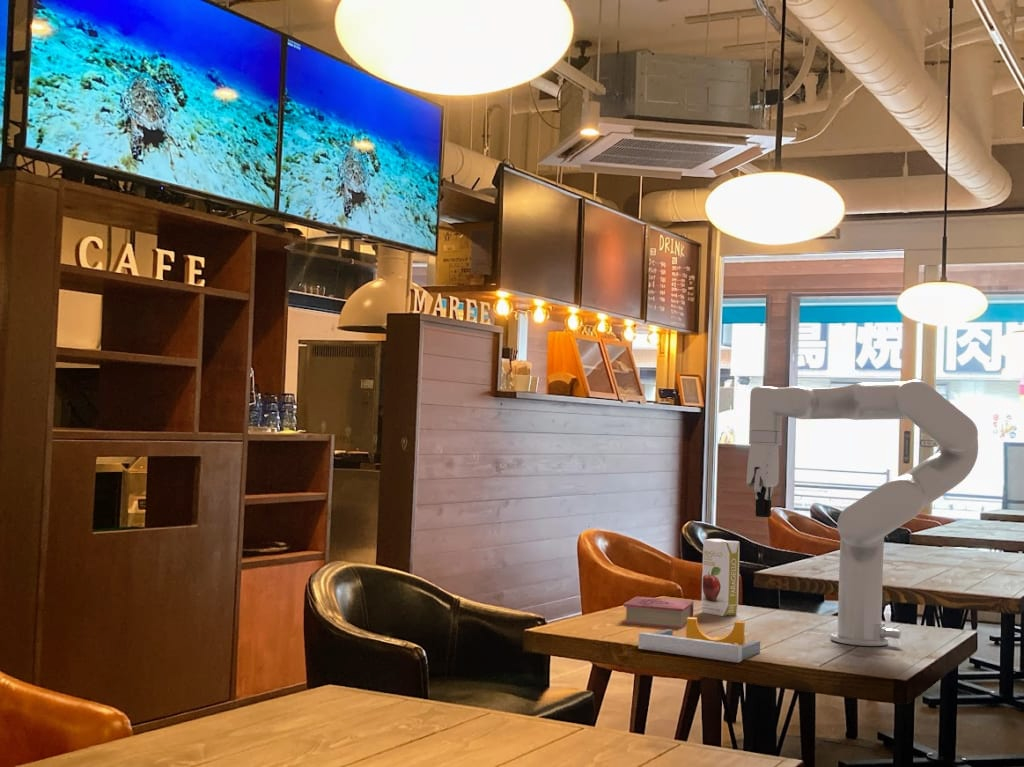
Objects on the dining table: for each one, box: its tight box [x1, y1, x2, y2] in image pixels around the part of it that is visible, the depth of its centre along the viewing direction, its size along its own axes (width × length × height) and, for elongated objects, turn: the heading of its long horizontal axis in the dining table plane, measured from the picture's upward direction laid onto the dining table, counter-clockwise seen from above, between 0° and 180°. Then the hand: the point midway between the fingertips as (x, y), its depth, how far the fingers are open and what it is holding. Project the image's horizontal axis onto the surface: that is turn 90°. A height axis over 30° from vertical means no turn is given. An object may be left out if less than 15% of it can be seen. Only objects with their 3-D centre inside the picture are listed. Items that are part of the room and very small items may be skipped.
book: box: [622, 596, 694, 629], centre depth 281 cm, size 14×15×5 cm
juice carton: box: [701, 538, 740, 617], centre depth 297 cm, size 8×9×19 cm
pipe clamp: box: [685, 616, 746, 645], centre depth 245 cm, size 12×4×6 cm, turn 75°
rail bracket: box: [637, 628, 761, 664], centre depth 243 cm, size 22×14×3 cm, turn 59°
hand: (763, 516), depth 270 cm, fingers closed
